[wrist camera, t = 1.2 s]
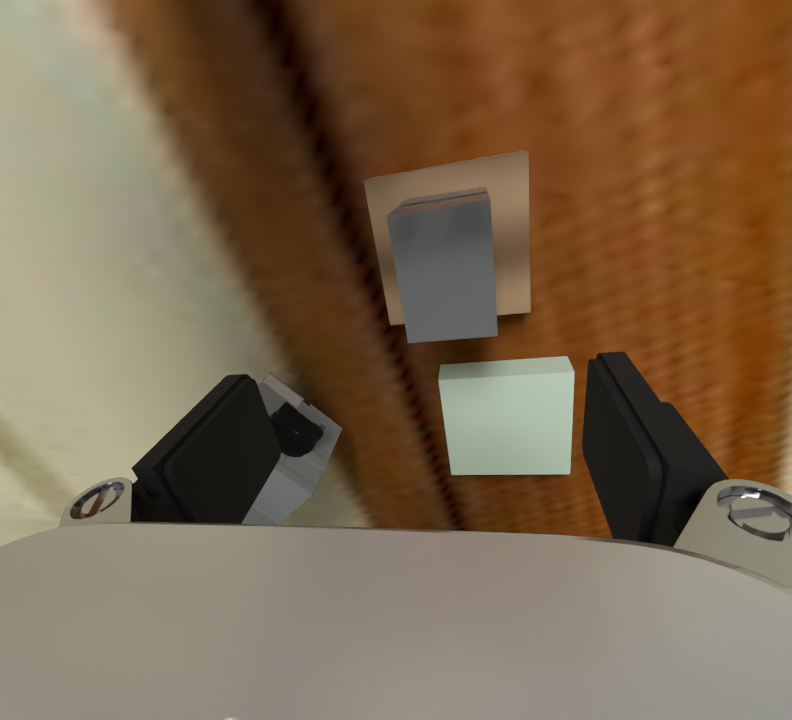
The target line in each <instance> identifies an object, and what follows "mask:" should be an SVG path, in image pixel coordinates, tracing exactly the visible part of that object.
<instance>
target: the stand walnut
mask: <svg viewBox="0 0 792 720" xmlns="http://www.w3.org/2000/svg"><path fill="white" fill-rule="evenodd" d="M363 182H364V187H365V192H366V198H367V203H368V208H369V214H370V219H371V224H372V230H373V235H374V240H375V246H376V251H377V256H378V262H379V267H380V272H381V278H382V283H383V288H384V294H385V299H386V304H387V310H388V315H389V320H390V325H398V324H405V322H404V316H403V311H402V305H401V299H400V293H399V287H398V281H397V275H396V269H395V263H394V257H393V252H392V246H391V240H390V234H389V228H388V222H387V215H388V214H389V213H391V212H392V211H393V210H394V209H395V208H399V205H400V204H401V203H402V202H403V201H404V200H405V199H411V198H417V197H423V196H429V195H435V194H442V193H448V192H454V191H460V190H466V189H472V188H478V187H484V186H486V188H487V192H488V194H489V197H490V202H491V220H492V238H493V256H494V274H495V292H496V310H497V315H507V314H518V313H528V312H531V302H530V231H529V160H528V151H524V150H523V151H517V152H512V153H506V154H500V155H495V156H489V157H484V158H478V159H473V160H467V161H461V162H456V163H450V164H445V165H439V166H433V167H428V168H422V169H417V170H411V171H406V172H400V173H394V174H389V175H383V176H378V177H372V178H369V179H366V180H364V181H363Z"/></svg>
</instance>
